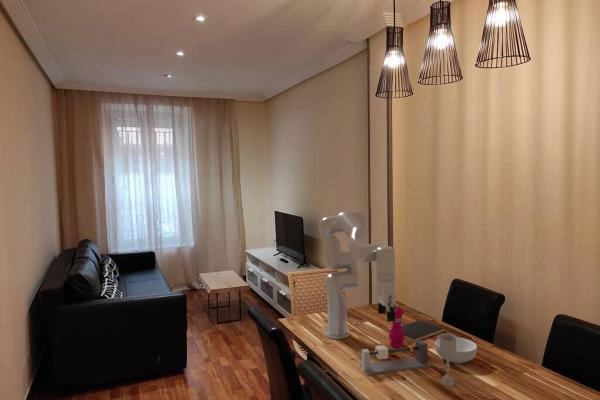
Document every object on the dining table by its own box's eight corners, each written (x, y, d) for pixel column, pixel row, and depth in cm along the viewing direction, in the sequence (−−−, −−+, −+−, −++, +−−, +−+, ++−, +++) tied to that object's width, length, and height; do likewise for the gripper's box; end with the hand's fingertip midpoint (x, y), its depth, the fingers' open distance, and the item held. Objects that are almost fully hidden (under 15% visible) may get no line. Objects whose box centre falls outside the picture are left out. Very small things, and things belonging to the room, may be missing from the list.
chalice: (435, 378, 165) (435, 333, 164) (452, 377, 165) (452, 332, 164) (443, 387, 158) (443, 341, 156) (460, 386, 158) (460, 340, 157)
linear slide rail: (359, 366, 176) (359, 345, 176) (421, 359, 182) (421, 338, 181) (366, 375, 168) (366, 353, 168) (430, 367, 174) (430, 345, 174)
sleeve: (375, 355, 175) (375, 346, 175) (384, 354, 176) (384, 345, 176) (379, 359, 171) (378, 349, 171) (388, 358, 172) (388, 348, 172)
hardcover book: (444, 332, 213) (444, 328, 213) (413, 343, 200) (413, 338, 200) (419, 323, 226) (419, 319, 226) (389, 333, 213) (389, 328, 213)
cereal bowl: (475, 353, 186) (475, 338, 186) (478, 370, 170) (478, 353, 170) (435, 349, 192) (435, 334, 191) (434, 365, 176) (434, 348, 176)
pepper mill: (405, 349, 193) (404, 306, 191) (389, 348, 194) (388, 305, 193) (404, 342, 200) (404, 301, 198) (389, 341, 201) (388, 301, 200)
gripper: (369, 272, 180) (370, 311, 181) (385, 282, 163) (385, 325, 164) (386, 271, 182) (386, 310, 183) (403, 280, 165) (403, 323, 166)
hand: (386, 317), depth 174 cm, fingers open, 9 cm apart
